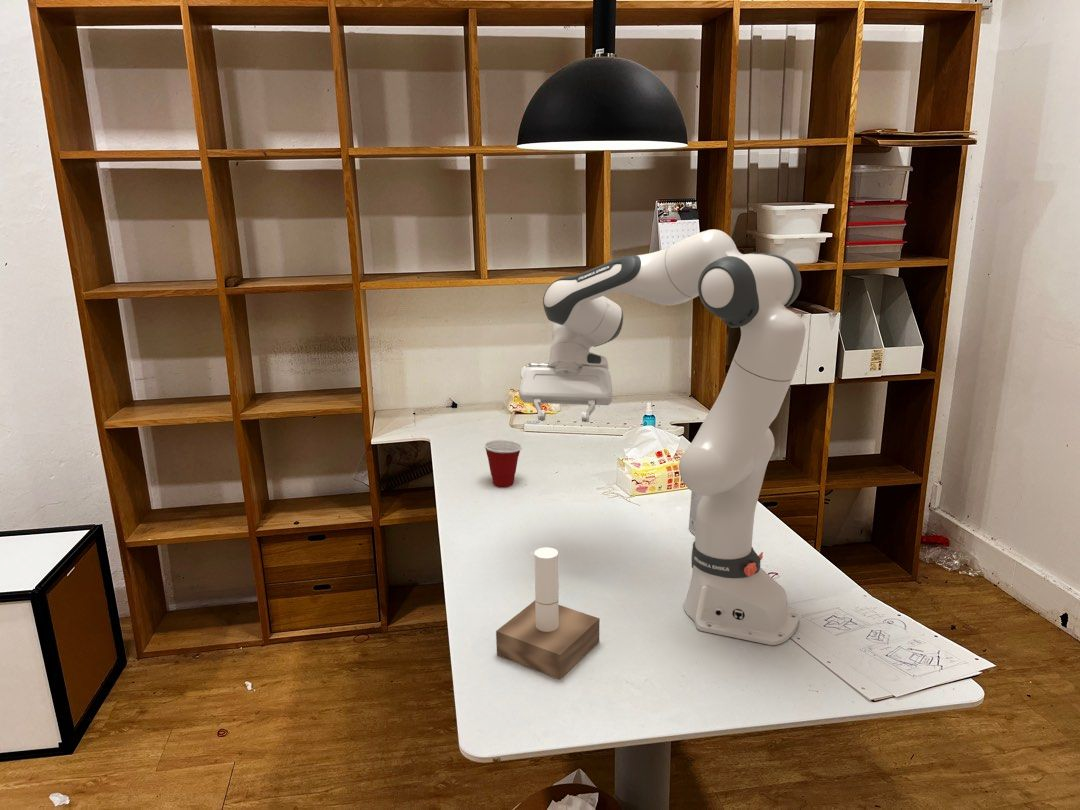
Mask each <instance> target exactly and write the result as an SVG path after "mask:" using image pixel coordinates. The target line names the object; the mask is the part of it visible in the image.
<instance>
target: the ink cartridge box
mask: <svg viewBox="0 0 1080 810" xmlns="http://www.w3.org/2000/svg"><path fill="white" fill-rule="evenodd" d="M701 498H702V495H698V494H696V493H694V492H692V491H691V495H690V507H689V508H690V509H689V520H688V530H689V531H690V532H691V533H692V534H693V535H694V536H695V531H696V511H697V506H698V504H699V502H700V500H701Z"/></svg>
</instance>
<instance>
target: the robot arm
mask: <svg viewBox="0 0 1080 810" xmlns="http://www.w3.org/2000/svg"><path fill="white" fill-rule="evenodd" d="M801 289H802V277H801V272H800V270H799V268H798V267H797V265H796V264H795V263H794V262H793V261H791V260H790V259H788V258H786V257H785V256H784V257H783V256H781V255H779V254H774V253H763V252H757V251H756V252H755V251H753V252H750V253H745V254H744V253H741V252H740V251H739V249H738V247H737V246H736V244H735V241H734V240H733V238H732V237H731V236H730V235H728V234H727V233H726V232H725V231H722V230H720V229H715V228H714V229H707V230H704V231H701V232H698V233H695V234H693V235H690V236H688V237H685V238H682V239H681V240H679V241H677V242H674V243H673V244H672V245H669V246H668V247H666V248H663V249H661V250H660V249H659V250H657V251H654V252H650V253H644V254H638V255H635V254H634V255H633V254H632V255H626V256H622V257H618V258H616V259H613V260H610V261H608V262H606V263H603V264H601V265H598V266H595V267H594V268H590V269H589V270H586V271H583V272H580V273H578V274H575V275H567V276H563V277H560V278H558V279H556V280H554V281H553V282H552V283H550V285H549V286H548V287H547V289H546V290H545V292H544V295H543V297H542V306H543V310H544V313H545V315H546V318H547V319H548V321H550V322H553V323H552V329H551V339H552V344H551V346H550V348H549V357H548V363H547V362H545V363H543V362H542V363H535V362H529V363H528V364H525V365H523V367H521V370H520V378H521V380H520V382H519V383H520V384H519V389H518V396H519V399H520V400H521V402H522V403H524V404H525V403H526V404H527V403H528V404H534V408H535V409H536V411H537V421H546V417H547V416H546V415H547V413H546V410H544V409H542V408H541V407H542V405H543V404H555V405H557V404H558V405H588V408H587V409H586V410H585V411H582V412H581V422H582V423H583V422H584V423H590V416H592V414H593V413H594V411H595V410H596V406H609V405H610V404H612V402H613V386H612V385H613V384H612V376H611V372H610V371H609V363H608V359H607V357H605V356H603V355H601V354H597V353H594V352H591V351H590V350H591V348H592V347H593V348H596V347H599V346H602V345H605V344H607V343H610V342H611V341H613V340H615V339H616V338H618V336H619V335H620V333H621V330H622V328H623V325H624V324H623V323H624V312H623V308H622V307H621V305H620V304H618V303H616V302H615V301H613V300H611V299H610V298H608V297H606V295H609V294H614V293H615V294H616V293H618V294H619V293H621V294H626V295H630V296H634V297H638V298H639V299H644V300H646V301H649V302H651V303H655V304H657V305H661V306H666V307H667V306H675V305H680V304H684V303H688V302H689V301H691V300H693V299H695V298H697V297H699V298H700V301H701V303H702V305H703V306H704V307H705V309H706V310H707V311H709V312H710V314H712V315H715V316H716V317H717V318H719V319H720V320H721V321H722V322H724V324H725V325H726V326H727V327H729V328H732V329H737V328H740V332H741V333H740V334H741V336H740V340H739V343H738V346H737V349H736V351H735V353H734V356H733V358H732V361H731V364H730V367H729V369H728V372H727V374H726V377H725V379H724V382H723V385H722V388H721V390H720V392H719V394H718V396H717V398H716V400H715V401H714V403H713V405H712V407H711V408H710V410H709V412H708V413H707V415H706V416H705V419H704V420H703V422H702V424H700V427H699V429H698V431H697V433H696V435H695V436H694V438H693V439H692V441H691V443H690V444H689V446H688V447H687V448H686V449H685V451H684V452H683V453H682V455H681V456H680V459H679V462H678V471H679V476H680V479H681V481H682V482H683V484H684V486H686V487H687V489H688V490H690V491H691V492H694V493H696V494H698V495H702V498H701V500H700V502H699V504H698V506H697V511H696V531H695V535H694V536H695V537H694V541H693V543H692V548H691V569H692V572H691V578H690V583H689V588H688V591H687V594H686V597H685V599H684V603H683V609H684V612H685V613H686V614H687V616H688V617H689V618H690V619H692V620H693V622H694V624H695V627H696V629H697V630H699V631H701V632H706V633H711V634H714V635H719V636H725V637H730V638H734V639H739V640H740V639H741V640H744V641H747V642H749V641H750V642H755V643H759V644H764V645H769V646H777V645H781V644H783V643H785V642H786V641H788V640H789V639H790V638H791V637H792V636H793V635H794V633H795V632H796V631H797V629H798V628H799V627H798V626H799V623H800V622H799V621H800V620H799V619H800V618H799V613H798V611H797V610H796V609H795V608H793V607H792V606H789V605H788V597H787V594H786V590H785V588H784V587H783V586H782V585H781V584H780V583H778V581H776V580H775V579H774V578H773V577H771V576H770V574H768V573H767V572H766V571H765V570H764V569H763V568H762V567H761V562H762V560H763V557H764V556H763V555H764V552H763V551H761V552H760V553H759V554H757V553H756V551H755V549H754V548H753V533H754V522H755V515H756V513H755V512H756V510H757V504H758V501H759V496H760V493H761V490H762V487H763V484H764V483H763V482H764V479H765V474H766V471H767V466H768V463H769V461H770V459H771V457H772V454H774V451H775V446H776V445H775V437H774V435H773V432H772V430H771V429H770V426H771V425H772V423H773V422H774V420H775V419H776V418H777V416H778V414H779V412H780V409H781V407H782V405H783V403H784V400H785V397H786V395H787V393H788V390H789V388H790V386H791V384H792V381H793V379H794V376H795V373H796V371H797V367H798V365H799V362H800V359H801V355H802V351H803V347H804V344H805V343H804V342H805V337H806V325H805V322H804V321H803V319H802V318H801V317H800V316H799V315H797V314H796V313H795V312H793V310H789V309H787V307H788V306H791V304H793V303H794V301H795V300H796V299H797V298H798V296H799V294H800V291H801Z"/></svg>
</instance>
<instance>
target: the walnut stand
mask: <svg viewBox="0 0 1080 810" xmlns="http://www.w3.org/2000/svg"><path fill="white" fill-rule="evenodd" d="M600 620H601V618H599V617H596V616H594V615H591V614H587V613H585V612H581V611H578V610H575V609H573V608H569V607H568V606H565V605H564V606H563V605H560V604H559V626H558V628H557V629H556V630H554V631H550V632H544V631H540V630H538V629H537V628H536V607H535V600H533V601H532V602H531V603H530V604H528V605H527V606H525V608H524V609H522V610H521V611H519V613H517V614H516V615H514V616H513V617H512V618H511V619H510V620H508V621H507V622H506V623H505V624H503V625H501V627H499V628H498V629H497V630H495V639H496V655H497V656H499V657H502V658H505V659H507V660H509V661H512V662H515V663H517V664H519V665H522V666H526V667H528V668H530V669H533V670H535V671H537V672H540V673H543V674H545V675H548V676H550V677H553V678H555V679H559V680H561V679H562V678H563V677H565V676H566V674H568V672H570V670H572V668H574V667H575V665H577V664H578V663H579V662H580V661H581V660H582V659H583V658H584V657H585V656H586V655H587V654H588V653H589V652H590V651H592V649H593V648H594V647H596V646H597V644H598V643H600Z"/></svg>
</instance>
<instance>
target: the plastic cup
mask: <svg viewBox="0 0 1080 810" xmlns="http://www.w3.org/2000/svg"><path fill="white" fill-rule="evenodd" d="M483 447H484V449H485V452H486V456H487V459H488V465H489V471H490V475H491V479H492V483H493V486H494V487H496V488H502V489H503V488H504V489H505V488H510V487H512V486H513V485H514V482H515V476H516V473H517V467H518V466H517V465H518V462H519V461H518V460H519V456H520V453H521V450H522V449H523V445H522V444H521V443H519V442H517V441H514V440H508V439H494V440H493V439H492V440H489V441H486V442H485V443H484V444H483Z"/></svg>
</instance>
